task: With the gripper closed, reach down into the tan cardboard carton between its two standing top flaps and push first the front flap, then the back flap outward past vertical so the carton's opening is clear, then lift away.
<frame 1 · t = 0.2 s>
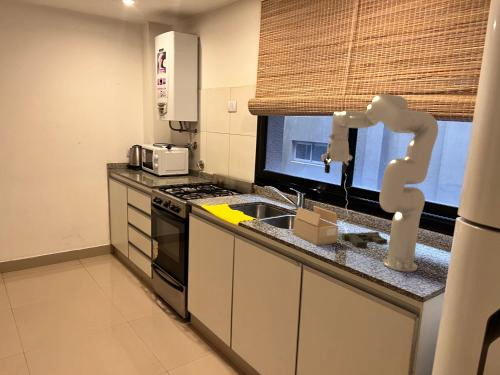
hand: (335, 173, 179), 31 cm above the worktop, tool pointing down, fingers open, 9 cm apart
carton: (314, 238, 175), on the worktop
firearm: (366, 242, 176), on the worktop
front flap: (307, 216, 171), point 11 cm above the worktop, hinge at 78.0°
back flap: (324, 214, 176), point 11 cm above the worktop, hinge at 78.0°
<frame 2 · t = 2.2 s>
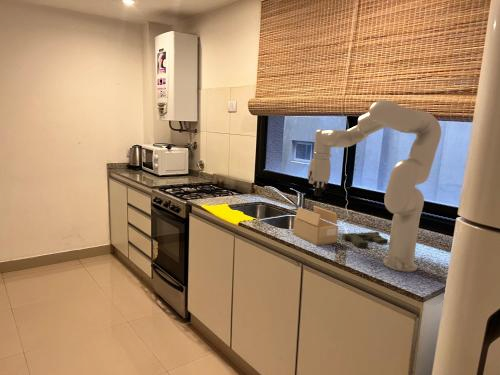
hand: (317, 195, 172), 21 cm above the worktop, tool pointing down, fingers closed
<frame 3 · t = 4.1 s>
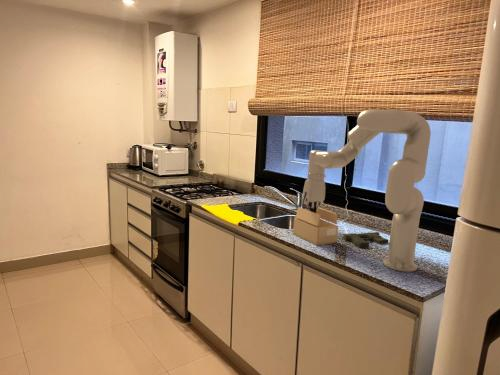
hand: (312, 215, 172), 11 cm above the worktop, tool pointing down, fingers closed
front flap: (307, 216, 171), point 11 cm above the worktop, hinge at 78.0°, touching gripper
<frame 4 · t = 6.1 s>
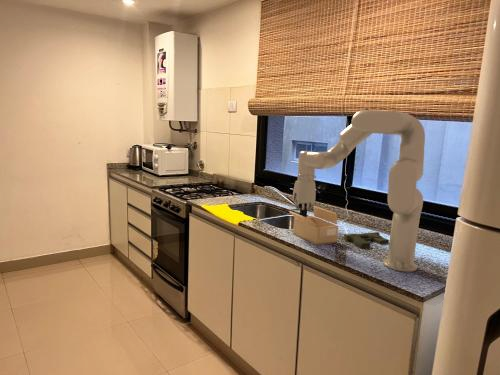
hand: (303, 217, 170), 11 cm above the worktop, tool pointing down, fingers closed
front flap: (302, 218, 170), point 10 cm above the worktop, hinge at 140.6°, touching gripper
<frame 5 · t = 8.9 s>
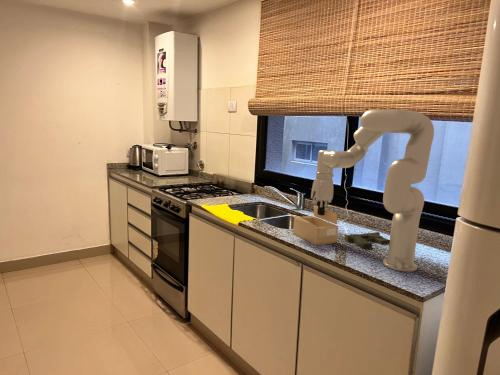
hand: (320, 214, 175), 11 cm above the worktop, tool pointing down, fingers closed
front flap: (302, 219, 170), point 10 cm above the worktop, hinge at 154.4°
back flap: (324, 214, 176), point 11 cm above the worktop, hinge at 79.3°, touching gripper
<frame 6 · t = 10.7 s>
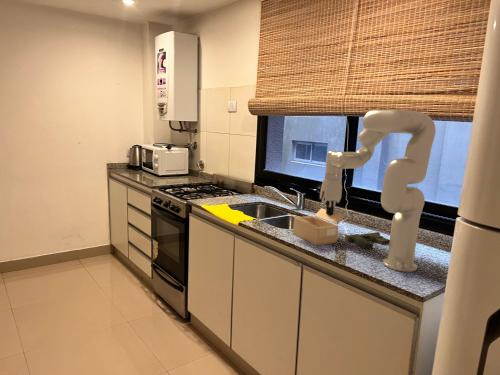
hand: (329, 214, 177), 11 cm above the worktop, tool pointing down, fingers closed
front flap: (302, 219, 170), point 10 cm above the worktop, hinge at 154.7°
back flap: (328, 216, 177), point 10 cm above the worktop, hinge at 136.6°, touching gripper
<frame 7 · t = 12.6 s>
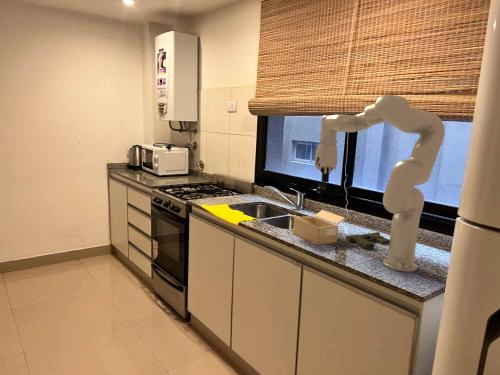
hand: (324, 181, 172), 27 cm above the worktop, tool pointing down, fingers closed
back flap: (329, 217, 178), point 10 cm above the worktop, hinge at 148.6°
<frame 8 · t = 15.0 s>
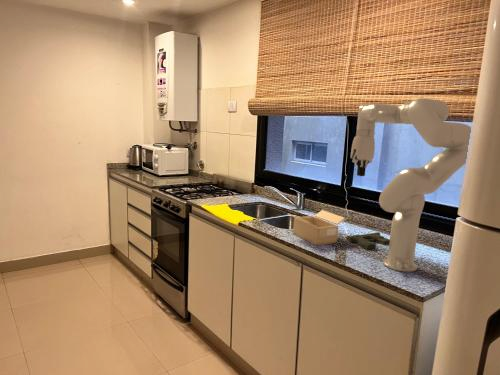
hand: (360, 175, 163), 32 cm above the worktop, tool pointing down, fingers closed
back flap: (329, 217, 178), point 10 cm above the worktop, hinge at 149.6°
at the end: front flap at +155° (first picture: +78°); back flap at +150° (first picture: +78°) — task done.
